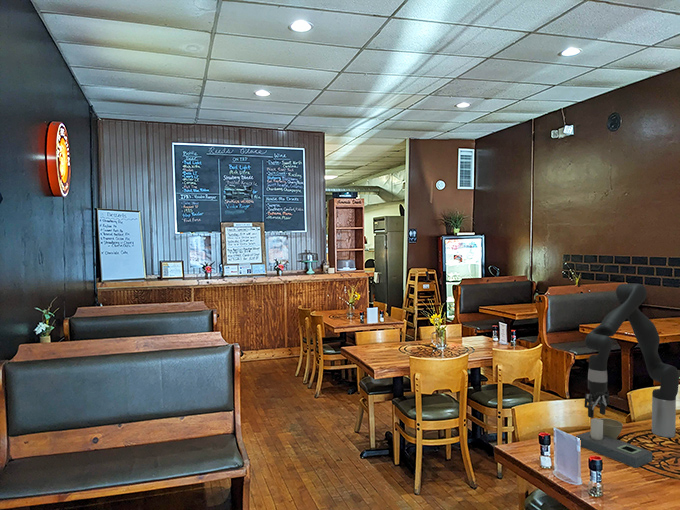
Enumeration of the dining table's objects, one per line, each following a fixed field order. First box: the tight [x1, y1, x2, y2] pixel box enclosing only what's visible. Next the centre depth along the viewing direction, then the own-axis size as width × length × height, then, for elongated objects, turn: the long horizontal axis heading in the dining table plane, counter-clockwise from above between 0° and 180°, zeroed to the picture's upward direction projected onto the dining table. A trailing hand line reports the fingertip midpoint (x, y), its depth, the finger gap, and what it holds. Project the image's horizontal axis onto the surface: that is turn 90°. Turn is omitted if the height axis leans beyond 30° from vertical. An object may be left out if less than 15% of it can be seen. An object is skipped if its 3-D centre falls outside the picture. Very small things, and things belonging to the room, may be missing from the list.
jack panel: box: [575, 430, 653, 469], centre depth 205 cm, size 12×26×4 cm, turn 30°
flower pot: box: [600, 417, 623, 439], centre depth 221 cm, size 10×10×7 cm
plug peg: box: [589, 417, 603, 441], centre depth 212 cm, size 3×4×12 cm
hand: (596, 415), depth 211 cm, fingers open, 8 cm apart
